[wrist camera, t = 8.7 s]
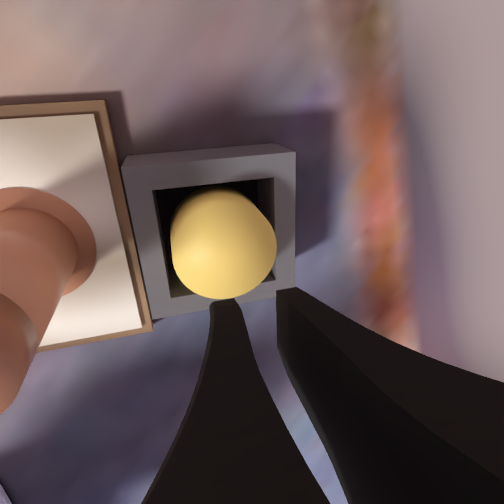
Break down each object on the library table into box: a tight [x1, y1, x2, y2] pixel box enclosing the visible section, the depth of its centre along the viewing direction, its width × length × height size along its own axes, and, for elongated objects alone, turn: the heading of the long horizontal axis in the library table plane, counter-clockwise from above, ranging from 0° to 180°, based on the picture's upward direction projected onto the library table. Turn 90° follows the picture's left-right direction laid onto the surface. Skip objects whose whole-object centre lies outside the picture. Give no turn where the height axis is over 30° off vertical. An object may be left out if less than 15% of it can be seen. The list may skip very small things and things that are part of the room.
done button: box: [170, 185, 277, 299], centre depth 16 cm, size 4×4×3 cm
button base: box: [121, 143, 296, 319], centre depth 17 cm, size 7×7×3 cm
